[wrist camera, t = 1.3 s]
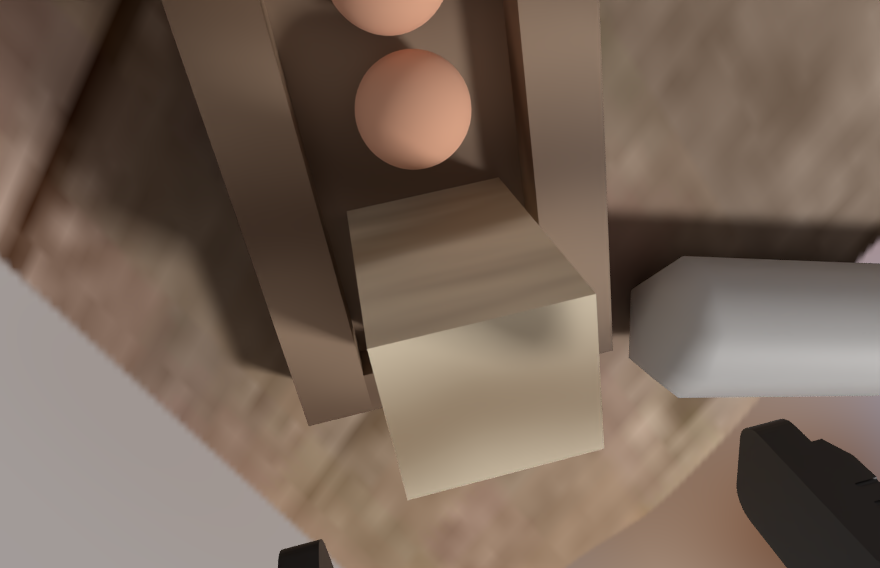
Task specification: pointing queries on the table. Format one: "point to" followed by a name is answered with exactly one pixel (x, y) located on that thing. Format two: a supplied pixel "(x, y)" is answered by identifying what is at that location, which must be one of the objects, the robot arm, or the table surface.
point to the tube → (759, 328)
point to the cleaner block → (475, 336)
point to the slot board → (371, 179)
